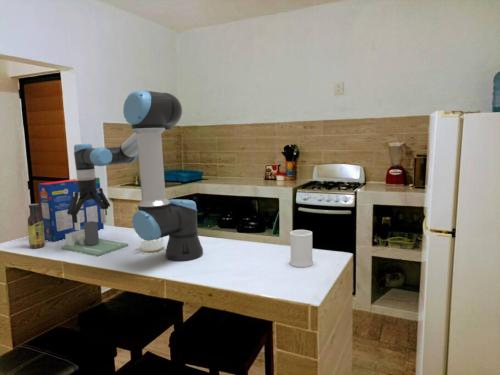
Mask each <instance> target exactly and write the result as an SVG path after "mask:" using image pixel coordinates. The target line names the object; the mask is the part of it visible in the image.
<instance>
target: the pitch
mask: <svg viewBox="0 0 500 375" xmlns="http://www.w3.org/2000/svg"><path fill="white" fill-rule="evenodd" d="M80 234H84V235H85V232H84V229H83V230H80V231H76V232H72V233H68V234H65V238H66V239H65V245H61V247H60V249H61V248H62V249H61V250H65V249H67V250H66V251H70V250H72V251H71V252H75V251H77V252H76V253H79V252H82V253H81V254H84V253H86V254H85V255H89V254H90V255H89V256H94V255H96V256H95V257H100V256H99V255H101V256H103V255H102V254H104V255H106V254H105V253H107V254H109V253H112V252H115V251H117V250H120V249H123V248H127V247H129V243H125V242H119V241H114V240H108V239H102V238H99V244H96V245H93V246H90V245H86V244H85V245H80V243H79V242H78V241H77V237H78V235H80ZM111 251H112V252H111ZM108 252H109V253H108Z"/></svg>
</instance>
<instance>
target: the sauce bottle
mask: <svg viewBox="0 0 500 375" xmlns="http://www.w3.org/2000/svg"><path fill="white" fill-rule="evenodd" d="M28 208H29V216H28V218H27V230H28V231H27V232H28V242H29V248H30V249H38V248H39V249H40V248H43V247H45V245H46V240H45V236H44V225H43V220H42V214H41V211H40V203H31V204H28Z"/></svg>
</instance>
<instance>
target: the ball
mask: <svg viewBox="0 0 500 375" xmlns="http://www.w3.org/2000/svg"><path fill="white" fill-rule="evenodd" d="M83 237H85V235H84V234H80V235H78V237H77V241H78V242H79V238H83Z"/></svg>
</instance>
